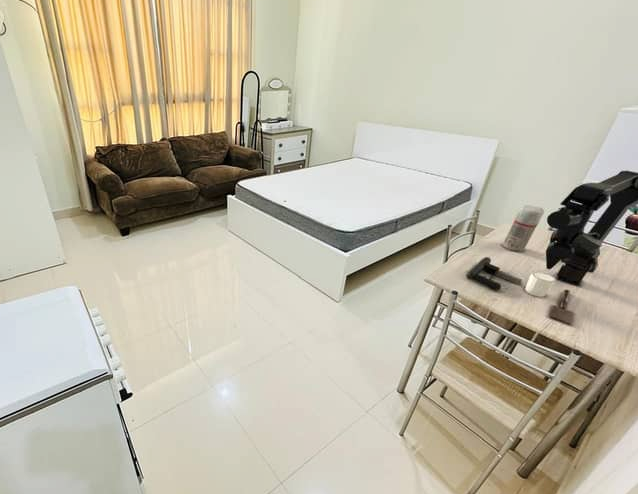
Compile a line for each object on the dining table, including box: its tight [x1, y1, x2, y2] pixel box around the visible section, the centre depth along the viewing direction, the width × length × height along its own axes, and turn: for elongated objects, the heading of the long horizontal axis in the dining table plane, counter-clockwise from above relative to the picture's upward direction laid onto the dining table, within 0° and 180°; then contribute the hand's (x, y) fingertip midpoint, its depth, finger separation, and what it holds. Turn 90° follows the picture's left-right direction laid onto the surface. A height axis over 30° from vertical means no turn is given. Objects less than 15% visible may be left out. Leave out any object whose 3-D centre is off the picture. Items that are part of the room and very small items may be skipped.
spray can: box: [502, 204, 545, 252], centre depth 141 cm, size 8×8×20 cm
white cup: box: [524, 270, 557, 298], centre depth 115 cm, size 7×7×7 cm
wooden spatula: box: [549, 289, 574, 326], centre depth 110 cm, size 5×22×2 cm, turn 134°
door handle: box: [464, 256, 523, 291], centre depth 124 cm, size 3×20×16 cm
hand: (549, 263), depth 112 cm, fingers open, 9 cm apart
